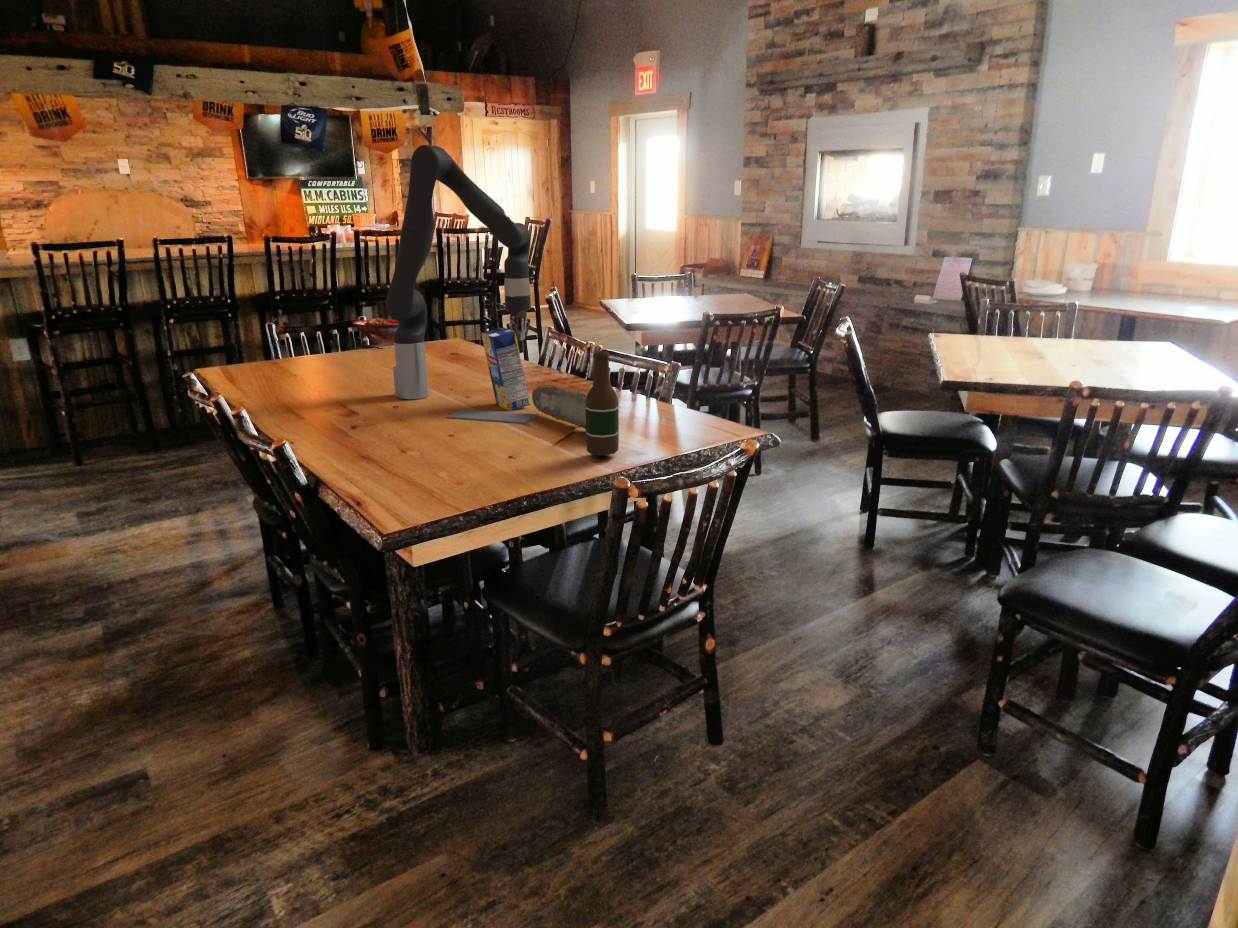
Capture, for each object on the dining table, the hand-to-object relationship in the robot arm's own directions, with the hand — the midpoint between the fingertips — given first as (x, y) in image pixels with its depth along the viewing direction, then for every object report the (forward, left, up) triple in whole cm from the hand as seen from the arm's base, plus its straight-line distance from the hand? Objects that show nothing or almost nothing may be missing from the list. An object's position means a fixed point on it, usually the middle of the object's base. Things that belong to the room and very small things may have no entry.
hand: (519, 352), depth 247 cm
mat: (0, -20, -15) cm, 25 cm away
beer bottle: (+41, -45, -15) cm, 63 cm away
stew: (-96, +77, -15) cm, 125 cm away
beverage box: (0, -6, -15) cm, 16 cm away
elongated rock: (+25, -23, -15) cm, 37 cm away
